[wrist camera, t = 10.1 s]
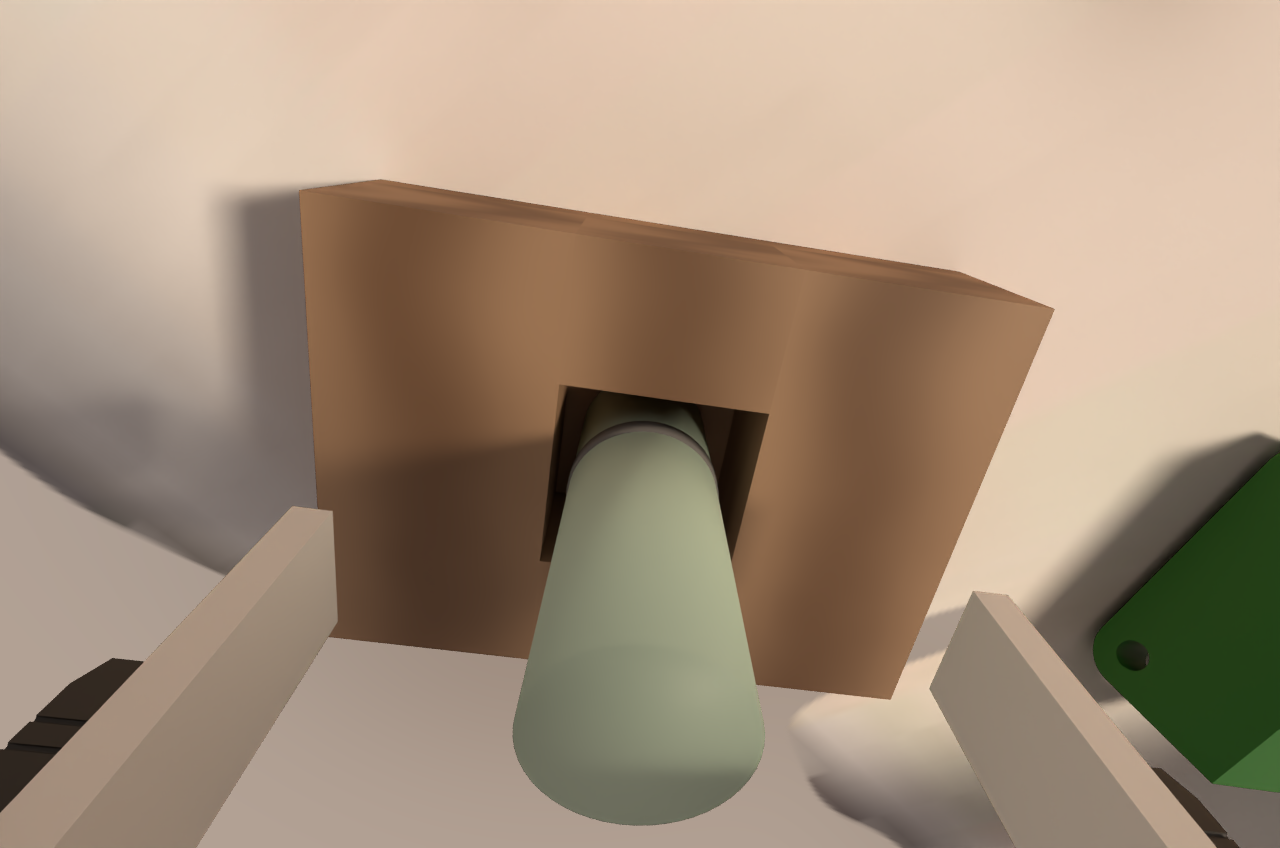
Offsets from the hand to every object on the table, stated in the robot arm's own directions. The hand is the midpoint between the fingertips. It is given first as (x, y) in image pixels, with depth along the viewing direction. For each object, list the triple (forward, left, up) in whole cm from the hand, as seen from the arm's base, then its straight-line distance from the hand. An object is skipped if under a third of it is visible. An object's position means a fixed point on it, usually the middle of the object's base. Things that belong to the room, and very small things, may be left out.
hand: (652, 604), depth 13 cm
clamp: (-24, +3, -10) cm, 26 cm away
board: (0, 0, -10) cm, 10 cm away
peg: (0, 0, -9) cm, 9 cm away
